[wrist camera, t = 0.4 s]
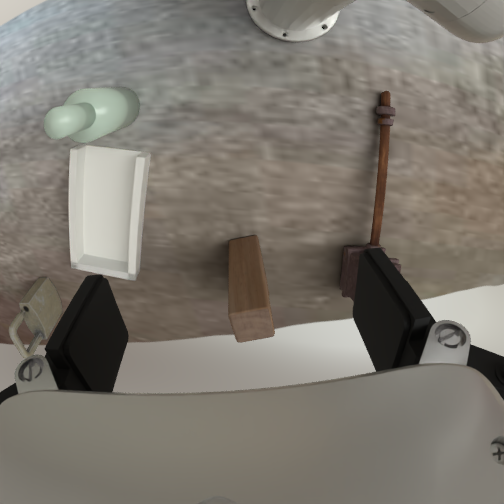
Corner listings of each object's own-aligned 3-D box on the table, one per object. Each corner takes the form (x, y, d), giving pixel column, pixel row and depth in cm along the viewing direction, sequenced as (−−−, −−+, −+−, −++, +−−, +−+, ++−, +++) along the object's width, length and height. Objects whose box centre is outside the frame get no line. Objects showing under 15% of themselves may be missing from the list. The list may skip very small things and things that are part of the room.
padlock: (51, 276, 51) (14, 329, 38) (65, 311, 55) (36, 365, 42) (35, 277, 51) (-2, 328, 38) (50, 311, 55) (20, 363, 41)
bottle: (104, 85, 37) (34, 91, 21) (143, 88, 38) (88, 91, 22) (98, 126, 39) (30, 152, 24) (136, 130, 40) (81, 157, 25)
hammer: (337, 291, 54) (357, 319, 44) (349, 94, 44) (375, 83, 35) (372, 289, 54) (396, 315, 45) (386, 101, 45) (418, 92, 35)
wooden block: (267, 281, 54) (280, 362, 38) (240, 286, 54) (245, 368, 38) (257, 233, 49) (269, 307, 33) (228, 239, 49) (227, 315, 34)
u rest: (80, 144, 40) (70, 148, 37) (151, 152, 42) (145, 158, 39) (78, 257, 49) (71, 267, 46) (140, 269, 51) (135, 280, 48)
